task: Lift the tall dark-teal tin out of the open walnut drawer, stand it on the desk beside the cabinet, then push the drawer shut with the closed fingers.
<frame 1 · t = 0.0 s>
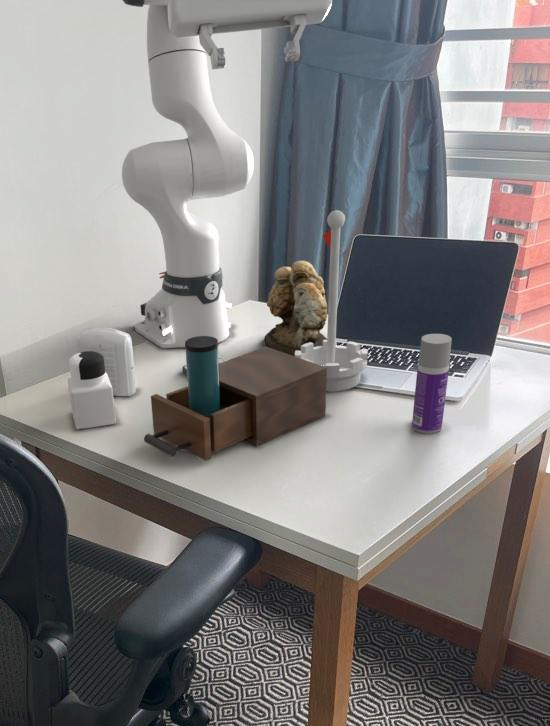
hand: (256, 62, 104), 54 cm above the table, tool tilted 30°, fingers open, 8 cm apart
owl figurine: (295, 347, 171), on the table
medicine bottle: (94, 420, 149), on the table
cabinet: (261, 417, 144), on the table
drawer: (202, 417, 135), point 4 cm above the table, slide at 9.0 cm, touching tin
tin: (205, 429, 137), point 2 cm above the table, touching drawer
phone case: (220, 380, 159), on the table
container: (426, 428, 136), on the table
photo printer: (110, 392, 159), on the table
flag stand: (329, 380, 155), on the table
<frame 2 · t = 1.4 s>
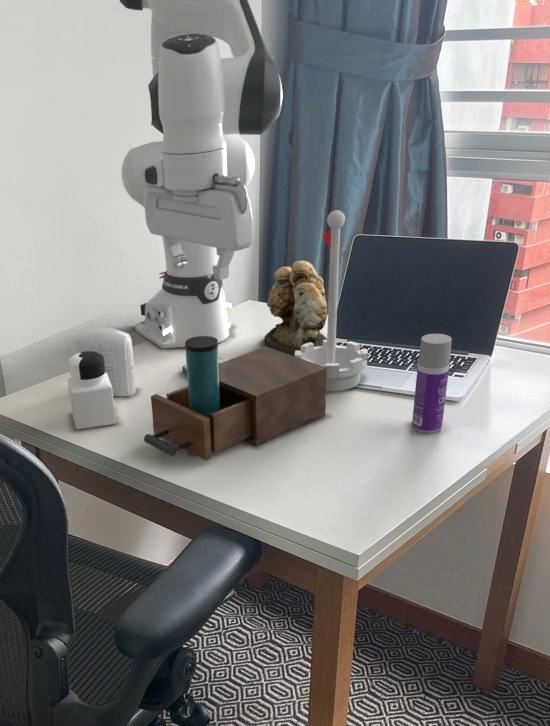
hand: (199, 272, 123), 28 cm above the table, tool pointing down, fingers open, 8 cm apart
nothing on the table moved.
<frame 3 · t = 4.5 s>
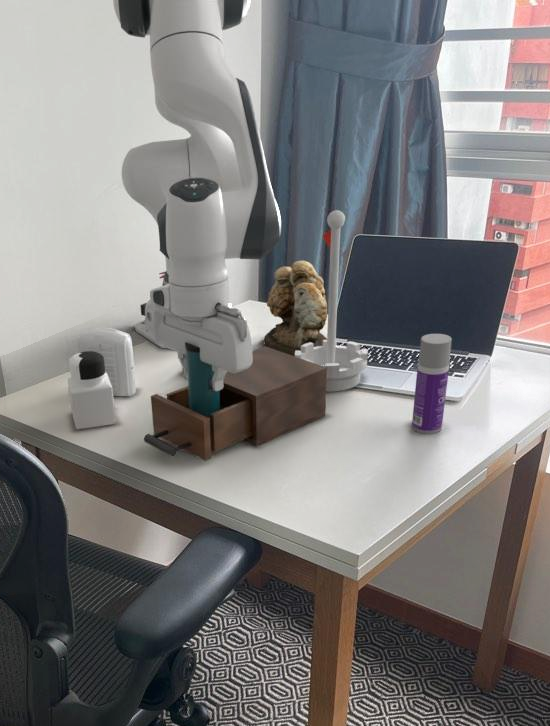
hand: (203, 383, 132), 10 cm above the table, tool pointing down, fingers closed on tin, 5 cm apart
tin: (205, 429, 137), point 2 cm above the table, touching drawer, gripper
everything else where it was.
when the fingers open (8 cm above the table, at t = 13.8 s): tin stays where it is, on the table.
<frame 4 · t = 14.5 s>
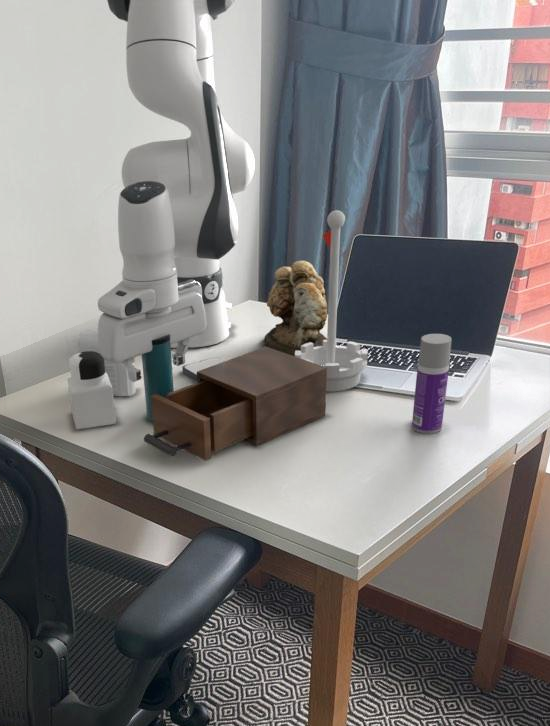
hand: (157, 372, 143), 8 cm above the table, tool pointing down, fingers open, 8 cm apart
drawer: (202, 417, 135), point 4 cm above the table, slide at 9.0 cm
tin: (161, 417, 147), on the table
everything else where it was.
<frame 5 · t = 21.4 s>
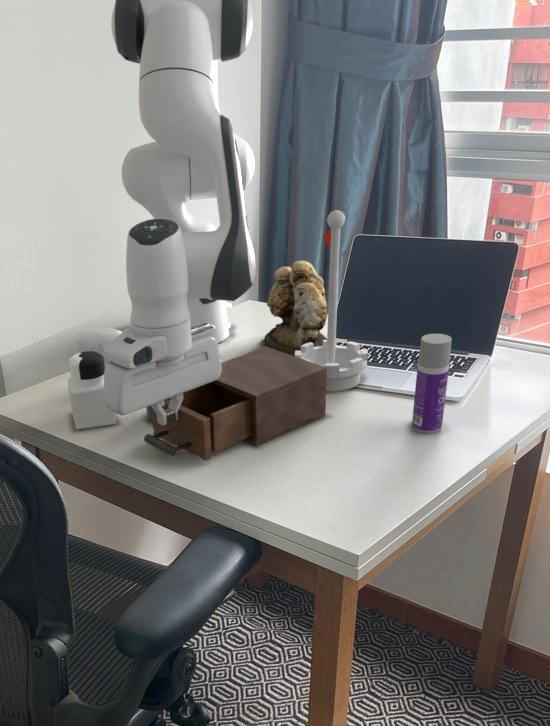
hand: (168, 421, 131), 6 cm above the table, tool pointing down, fingers closed
drawer: (202, 417, 135), point 4 cm above the table, slide at 9.0 cm, touching gripper
everything else where it was.
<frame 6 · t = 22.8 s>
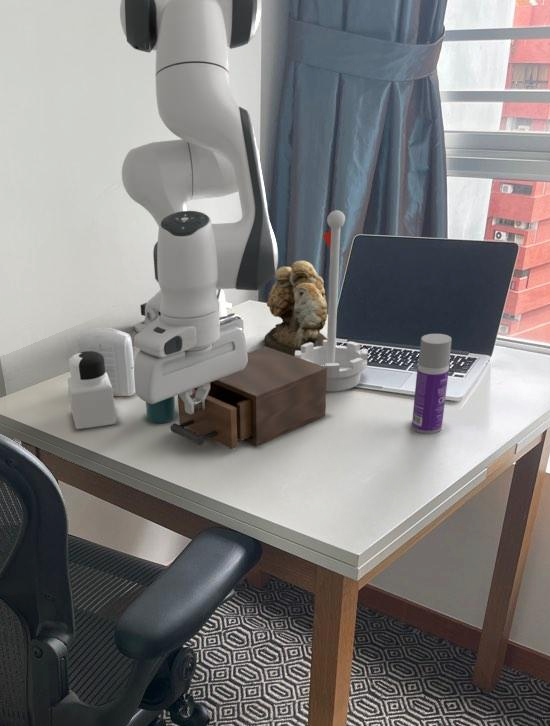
hand: (195, 410, 134), 6 cm above the table, tool pointing down, fingers closed
drawer: (227, 407, 138), point 4 cm above the table, slide at 3.5 cm, touching gripper
everything else where it was.
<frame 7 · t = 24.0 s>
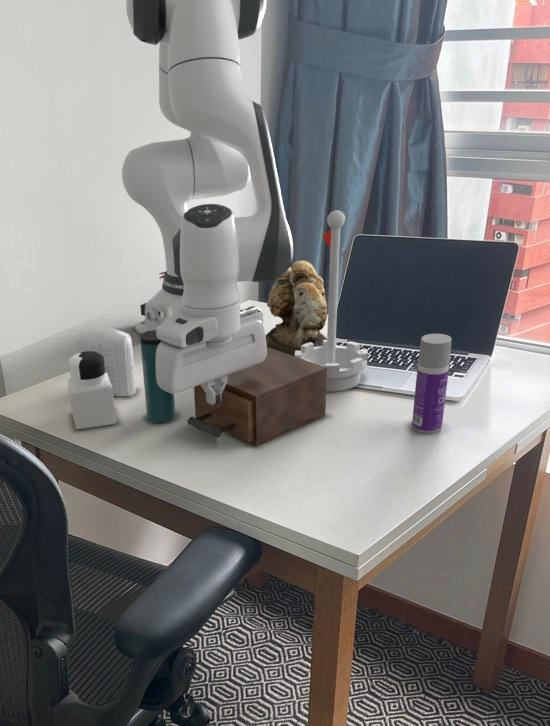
hand: (214, 402, 136), 6 cm above the table, tool pointing down, fingers closed
drawer: (243, 401, 139), point 4 cm above the table, slide at 0.0 cm, touching cabinet, gripper
everything else where it was.
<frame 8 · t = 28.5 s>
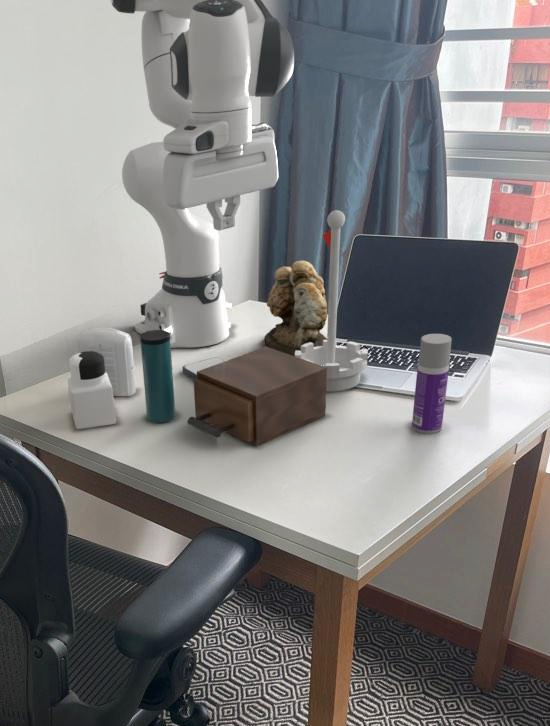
hand: (224, 228, 130), 31 cm above the table, tool pointing down, fingers closed
drawer: (243, 401, 139), point 4 cm above the table, slide at 0.0 cm, touching cabinet
everything else where it was.
at the end: tin inside the target area (0.1 cm from its centre), on the table; tin tilted 0°; drawer slide at 0.0 cm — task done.
